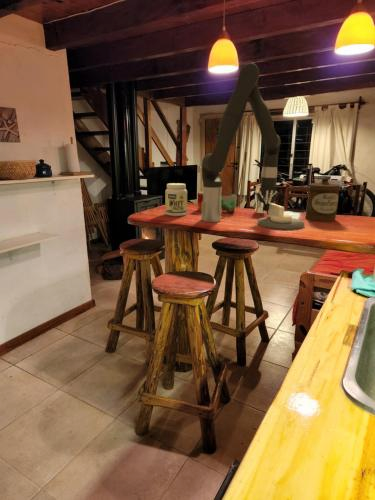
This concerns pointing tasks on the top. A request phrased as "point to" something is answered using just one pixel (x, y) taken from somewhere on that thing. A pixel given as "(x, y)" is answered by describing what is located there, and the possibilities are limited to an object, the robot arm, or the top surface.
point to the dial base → (281, 224)
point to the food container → (228, 203)
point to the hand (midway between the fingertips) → (265, 210)
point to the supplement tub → (176, 199)
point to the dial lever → (278, 214)
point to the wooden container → (322, 201)
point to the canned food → (200, 200)
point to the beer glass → (258, 202)
